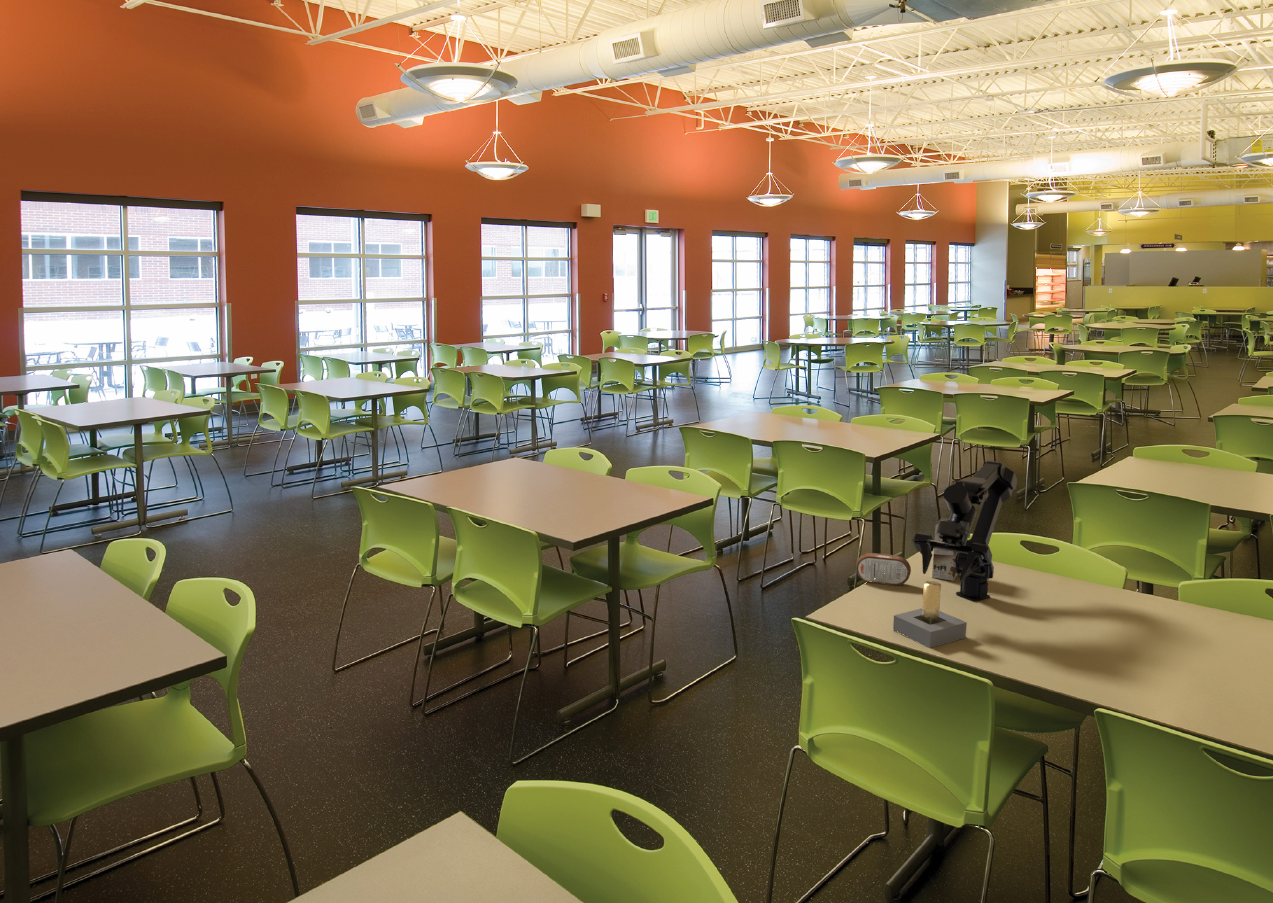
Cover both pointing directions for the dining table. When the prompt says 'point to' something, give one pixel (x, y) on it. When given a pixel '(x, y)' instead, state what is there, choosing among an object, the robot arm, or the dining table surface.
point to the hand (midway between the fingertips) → (941, 577)
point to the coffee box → (943, 560)
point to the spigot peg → (931, 602)
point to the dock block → (930, 628)
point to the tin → (883, 568)
